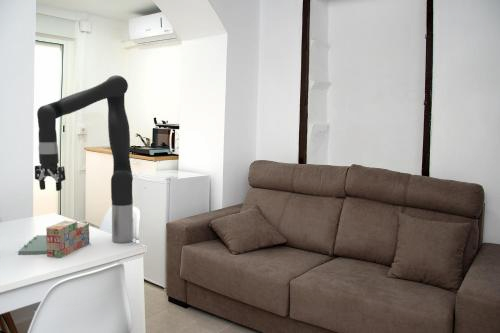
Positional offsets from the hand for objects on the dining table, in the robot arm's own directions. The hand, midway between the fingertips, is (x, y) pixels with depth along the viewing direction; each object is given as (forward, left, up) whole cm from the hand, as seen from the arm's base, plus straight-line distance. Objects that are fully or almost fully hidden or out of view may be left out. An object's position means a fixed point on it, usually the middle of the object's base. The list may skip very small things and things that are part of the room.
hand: (50, 190), depth 191 cm
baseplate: (+4, -1, -25) cm, 25 cm away
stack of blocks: (-8, +4, -25) cm, 27 cm away
